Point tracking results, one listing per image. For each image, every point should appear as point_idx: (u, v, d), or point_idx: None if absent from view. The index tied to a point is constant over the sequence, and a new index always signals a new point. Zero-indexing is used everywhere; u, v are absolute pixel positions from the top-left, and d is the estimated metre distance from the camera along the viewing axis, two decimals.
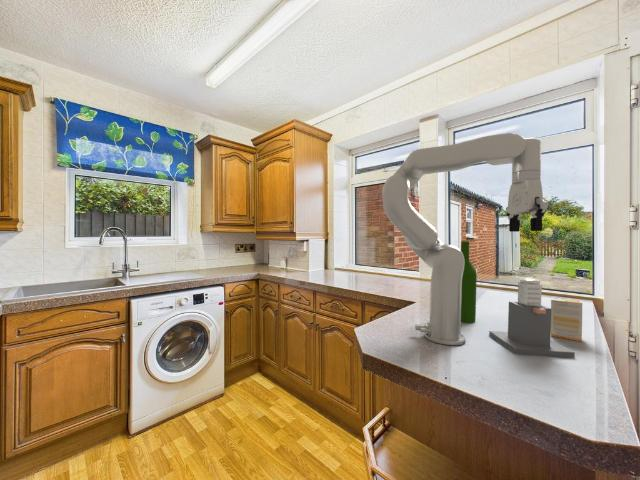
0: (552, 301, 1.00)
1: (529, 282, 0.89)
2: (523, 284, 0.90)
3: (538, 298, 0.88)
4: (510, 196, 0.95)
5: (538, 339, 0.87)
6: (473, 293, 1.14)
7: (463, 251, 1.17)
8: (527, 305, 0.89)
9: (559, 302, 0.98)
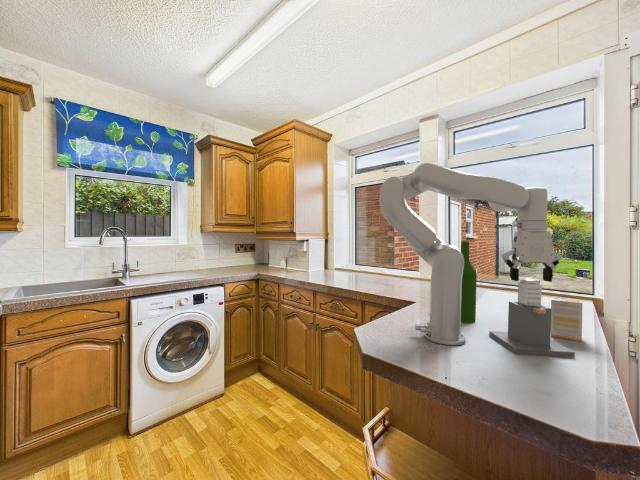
0: (552, 301, 1.00)
1: (529, 282, 0.89)
2: (523, 284, 0.90)
3: (538, 298, 0.88)
4: (525, 244, 0.88)
5: (538, 339, 0.87)
6: (473, 293, 1.14)
7: (463, 251, 1.17)
8: (527, 305, 0.89)
9: (559, 302, 0.98)
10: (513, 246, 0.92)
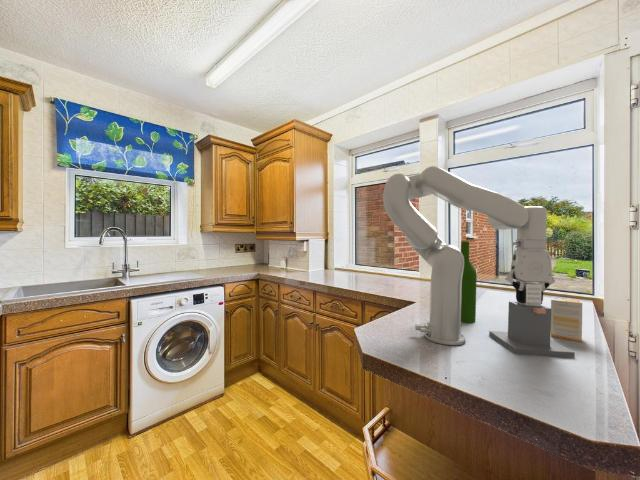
0: (552, 301, 1.00)
1: (529, 282, 0.89)
2: None
3: (538, 298, 0.88)
4: (524, 263, 0.88)
5: (538, 339, 0.87)
6: (473, 293, 1.14)
7: (463, 251, 1.17)
8: (527, 305, 0.89)
9: (559, 302, 0.98)
10: (512, 264, 0.92)
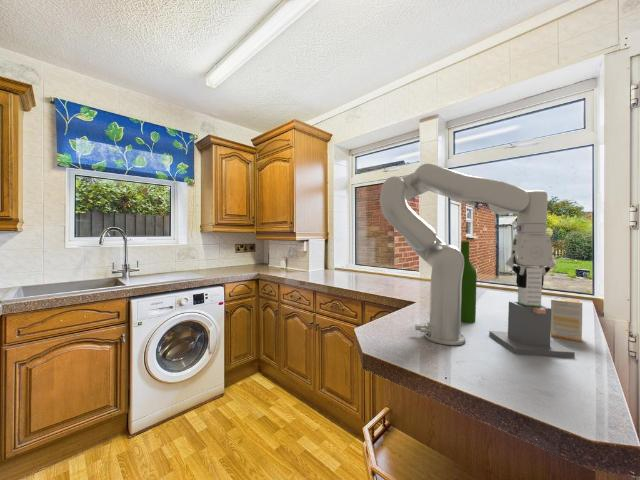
0: (552, 301, 1.00)
1: (529, 266, 0.89)
2: None
3: (538, 282, 0.88)
4: (524, 247, 0.88)
5: (538, 339, 0.87)
6: (473, 293, 1.14)
7: (463, 251, 1.17)
8: (527, 289, 0.89)
9: (559, 302, 0.98)
10: (512, 249, 0.92)
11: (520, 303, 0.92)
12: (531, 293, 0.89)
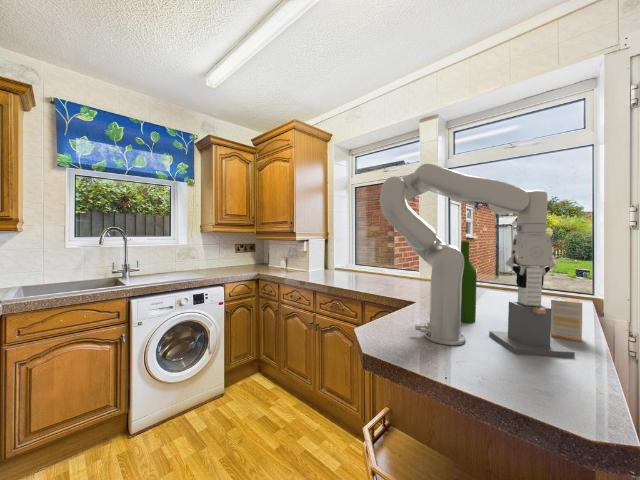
0: (552, 301, 1.00)
1: (529, 266, 0.89)
2: None
3: (538, 282, 0.88)
4: (524, 247, 0.88)
5: (538, 339, 0.87)
6: (473, 293, 1.14)
7: (463, 251, 1.17)
8: (527, 289, 0.89)
9: (559, 302, 0.98)
10: (512, 249, 0.92)
11: (520, 303, 0.92)
12: (531, 293, 0.89)
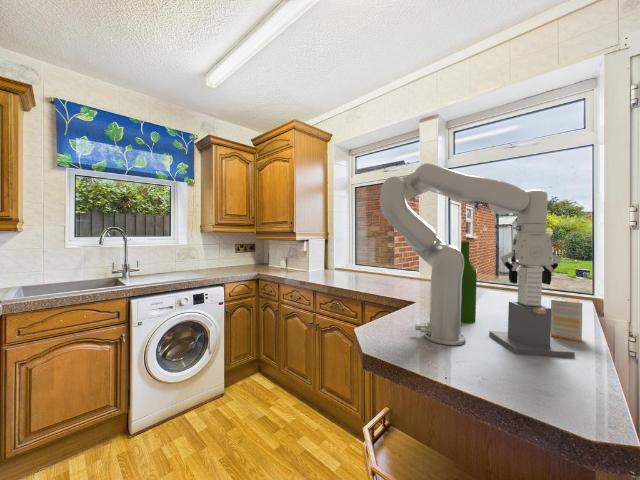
0: (552, 301, 1.00)
1: (529, 266, 0.89)
2: (523, 268, 0.90)
3: (538, 282, 0.88)
4: (524, 246, 0.88)
5: (538, 339, 0.87)
6: (473, 293, 1.14)
7: (463, 251, 1.17)
8: (527, 289, 0.89)
9: (559, 302, 0.98)
10: (512, 248, 0.92)
11: (520, 303, 0.92)
12: (531, 293, 0.89)
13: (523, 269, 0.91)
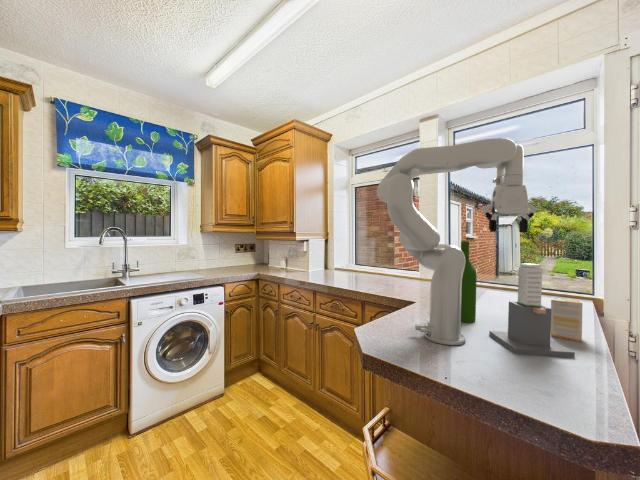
0: (552, 301, 1.00)
1: (529, 266, 0.89)
2: (523, 268, 0.90)
3: (538, 282, 0.88)
4: (502, 197, 0.96)
5: (538, 339, 0.87)
6: (473, 293, 1.14)
7: (463, 251, 1.17)
8: (527, 289, 0.89)
9: (559, 302, 0.98)
10: (492, 200, 1.00)
11: (520, 303, 0.92)
12: (531, 293, 0.89)
13: (523, 269, 0.91)
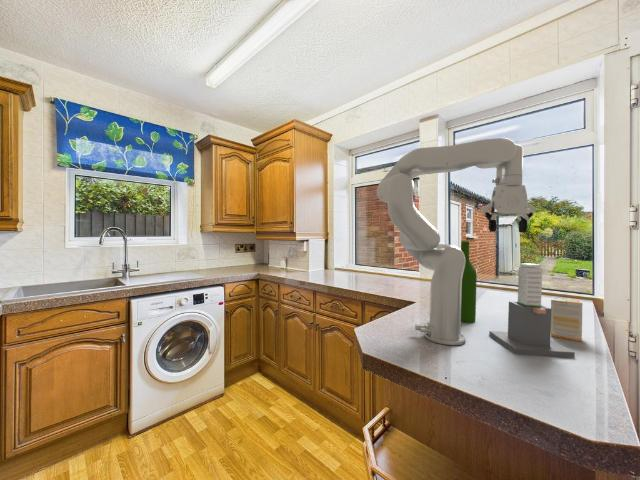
0: (552, 301, 1.00)
1: (529, 266, 0.89)
2: (523, 268, 0.90)
3: (538, 282, 0.88)
4: (502, 197, 0.96)
5: (538, 339, 0.87)
6: (473, 293, 1.14)
7: (463, 251, 1.17)
8: (527, 289, 0.89)
9: (559, 302, 0.98)
10: (492, 200, 1.00)
11: (520, 303, 0.92)
12: (531, 293, 0.89)
13: (523, 269, 0.91)
